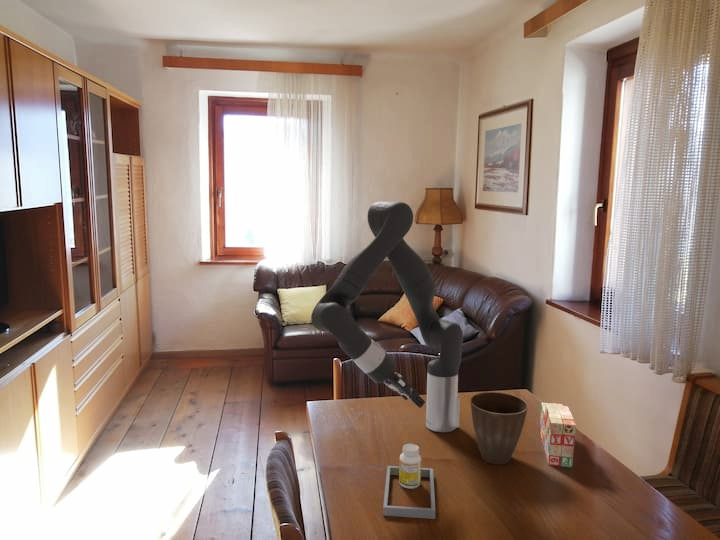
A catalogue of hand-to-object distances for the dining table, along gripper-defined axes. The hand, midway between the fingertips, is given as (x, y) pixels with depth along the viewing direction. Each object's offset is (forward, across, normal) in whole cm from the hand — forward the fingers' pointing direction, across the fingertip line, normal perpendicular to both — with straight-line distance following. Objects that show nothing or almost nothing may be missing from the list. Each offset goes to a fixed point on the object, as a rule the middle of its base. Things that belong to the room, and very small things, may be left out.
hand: (415, 401), depth 145 cm
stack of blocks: (+42, -2, -18) cm, 46 cm away
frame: (+9, -10, +18) cm, 23 cm away
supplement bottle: (+10, -6, +17) cm, 20 cm away
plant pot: (+29, -2, -4) cm, 29 cm away
